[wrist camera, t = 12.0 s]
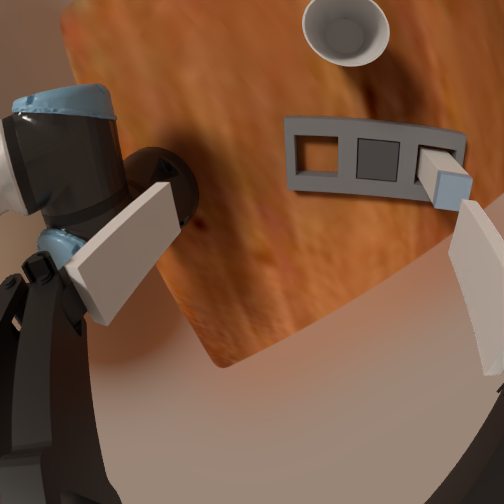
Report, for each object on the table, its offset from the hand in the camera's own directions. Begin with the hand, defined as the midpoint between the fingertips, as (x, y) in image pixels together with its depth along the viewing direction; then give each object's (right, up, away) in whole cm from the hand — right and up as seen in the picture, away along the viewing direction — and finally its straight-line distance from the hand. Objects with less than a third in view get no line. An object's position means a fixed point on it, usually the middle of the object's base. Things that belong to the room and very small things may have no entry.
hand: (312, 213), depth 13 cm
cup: (+9, +25, +16) cm, 31 cm away
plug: (+22, +10, +22) cm, 32 cm away
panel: (+14, +11, +24) cm, 30 cm away
